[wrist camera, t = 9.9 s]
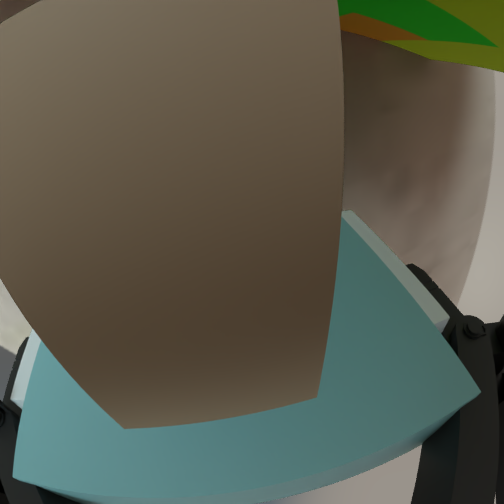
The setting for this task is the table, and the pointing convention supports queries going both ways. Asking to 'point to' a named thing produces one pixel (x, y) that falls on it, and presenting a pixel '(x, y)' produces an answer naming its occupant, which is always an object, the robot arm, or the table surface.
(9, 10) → the table surface
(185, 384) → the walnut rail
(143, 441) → the notched teal block
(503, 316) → the robot arm
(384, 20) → the puzzle toy
